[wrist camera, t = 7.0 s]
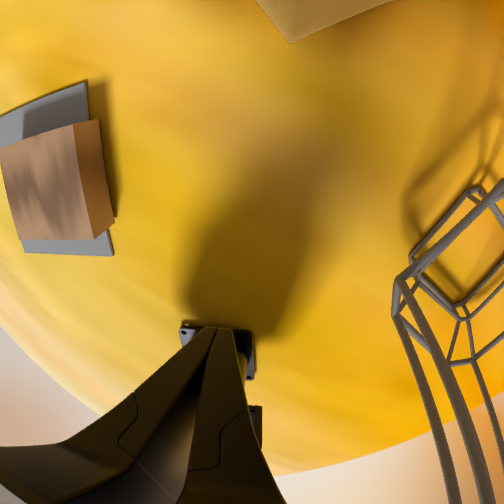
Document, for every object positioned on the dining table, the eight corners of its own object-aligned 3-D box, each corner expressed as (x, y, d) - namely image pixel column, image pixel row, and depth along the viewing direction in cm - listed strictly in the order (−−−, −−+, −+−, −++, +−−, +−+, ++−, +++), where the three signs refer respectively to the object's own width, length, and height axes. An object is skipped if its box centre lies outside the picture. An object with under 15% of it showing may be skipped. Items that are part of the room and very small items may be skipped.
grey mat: (114, 254, 23) (112, 256, 23) (26, 251, 24) (24, 252, 24) (86, 82, 16) (84, 82, 16) (-3, 119, 18) (-5, 119, 18)
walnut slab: (94, 239, 19) (19, 239, 20) (114, 222, 21) (40, 224, 22) (72, 124, 15) (-2, 149, 16) (98, 118, 17) (22, 140, 18)
